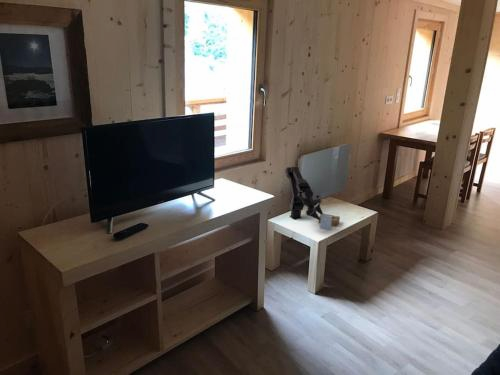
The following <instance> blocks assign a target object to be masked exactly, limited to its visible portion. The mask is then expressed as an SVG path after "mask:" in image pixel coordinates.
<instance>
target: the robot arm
mask: <svg viewBox="0 0 500 375" xmlns="http://www.w3.org/2000/svg"><path fill="white" fill-rule="evenodd" d="M284 173H285V176H286V177H287V179H288V180H289V185H290V189H291V190H290V191H291V195H292V199H291V201H290V204H289V205H288V206H289V209H290V215H289V218H291V219H293V220H299V219H302V218H303V217H302V211H303V210H304V207H305V206H306V207H307V210H306V211H305V215H306V216H308V217H309V216H310V217H311V218H314V219H316V220H318V221H319V220H320V218H319V217H320V215H322V214H324V212H323V210H322V208H321V203H322V202H323V200H322V198H323V197H322V196H321V195H320V194H316V196H315V197H313V195H314V192H313V190H312V188H311V186H310V184H309V182H308V181H307V179H304V178H303V176H302V174H301V171H300V168H299V166H287V167H286V168H285V169H284ZM319 214H320V215H319Z"/></svg>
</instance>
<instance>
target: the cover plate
mask: <svg viewBox="0 0 500 375" xmlns="http://www.w3.org/2000/svg"><path fill="white" fill-rule="evenodd" d="M324 214H325V213H323V214H322V215H321V214H320V215H321V222H320V224H319V229H320V230H324V231H331V230H332V226H331V222H332V216H329V215H330V214H328V215H324Z"/></svg>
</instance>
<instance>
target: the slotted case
mask: <svg viewBox="0 0 500 375" xmlns="http://www.w3.org/2000/svg"><path fill="white" fill-rule="evenodd" d="M323 214H324V215H329V216H332V222H331V227H335V228H337V227H338V225H339V223H340V219H341V218H340V216H338V215H332V214H329V213H323ZM319 218H320V220H318V224H319V225H320V222H321V214H320V215H319Z"/></svg>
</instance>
